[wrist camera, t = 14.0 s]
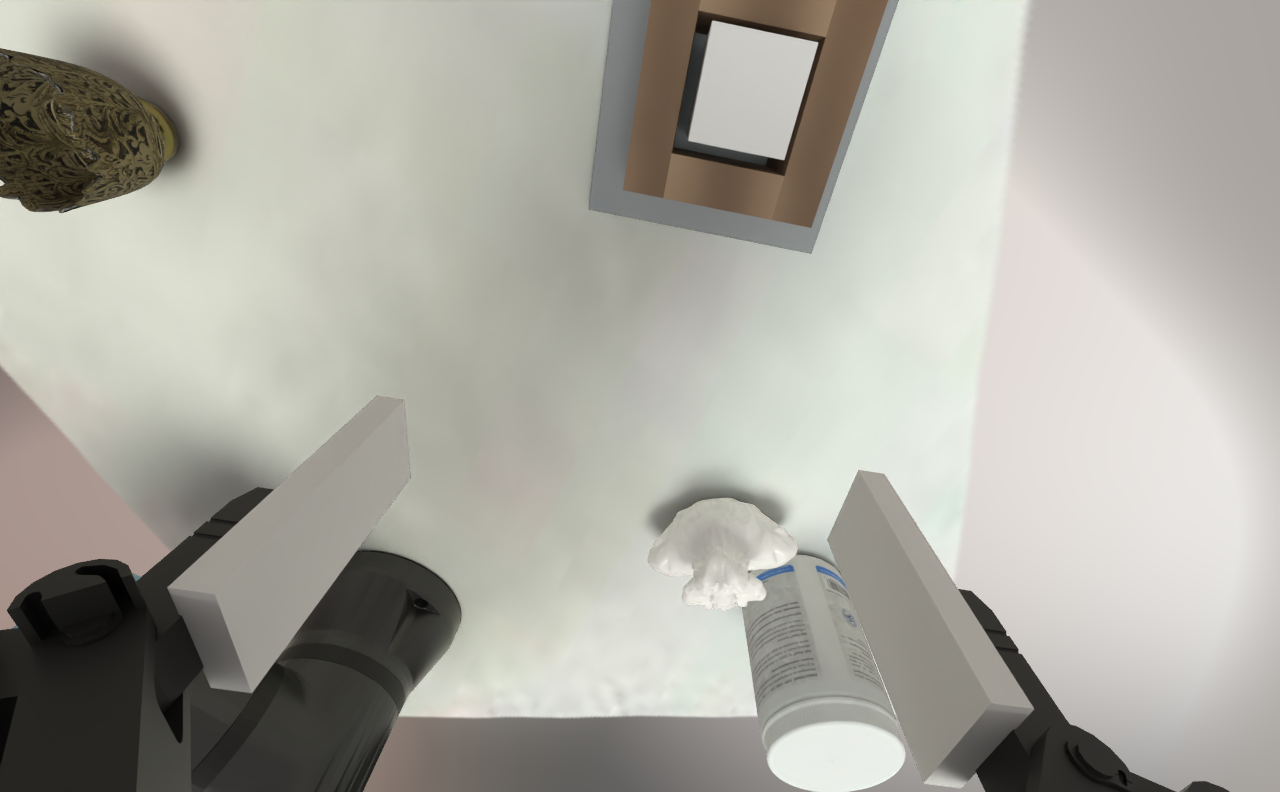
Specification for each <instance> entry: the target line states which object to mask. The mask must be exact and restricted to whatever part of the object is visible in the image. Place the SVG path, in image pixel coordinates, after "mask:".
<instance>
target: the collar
mask: <svg viewBox="0 0 1280 792" xmlns="http://www.w3.org/2000/svg"><path fill="white" fill-rule="evenodd" d="M887 3H888V0H651V5H650V12H649V18H648V25H647V32H646V38H645V45H644V52H643V58H642V65H641V72H640V79H639V85H638V92H637V99H636V105H635V112H634V119H633V126H632V132H631V139H630V146H629V152H628V159H627V166H626V172H625V179H624V186H623V190H625V191H630V192H635V193H639V194H644V195H649V196H654V197H659V198H664V199H669V200H674V201H679V202H684V203H689V204H694V205H699V206H704V207H709V208H714V209H719V210H724V211H729V212H734V213H739V214H744V215H749V216H754V217H759V218H764V219H769V220H774V221H779V222H784V223H789V224H794V225H799V226H804V227H809V228H812V225H813V222H814V219H815V216H816V213H817V210H818V207H819V204H820V201H821V198H822V195H823V192H824V189H825V186H826V183H827V180H828V177H829V174H830V171H831V168H832V165H833V162H834V160H835V157H836V154H837V151H838V148H839V145H840V142H841V139H842V136H843V133H844V130H845V127H846V124H847V121H848V118H849V115H850V112H851V109H852V106H853V103H854V100H855V97H856V94H857V91H858V88H859V86H860V83H861V80H862V77H863V74H864V71H865V68H866V65H867V62H868V59H869V56H870V53H871V50H872V47H873V44H874V41H875V38H876V35H877V32H878V29H879V26H880V23H881V20H882V17H883V15H884V12H885V9H886V6H887ZM712 21H717V22H722V23H727V24H732V25H737V26H741V27H746V28H751V29H756V30H761V31H765V32H770V33H775V34H780V35H785V36H789V37H794V38H799V39H804V40H809V41H813V42H818V46H817V50H816V53H815V56H814V60H813V63H812V67H811V70H810V74H809V77H808V81H807V84H806V87H805V91H804V94H803V98H802V101H801V105H800V108H799V111H798V115H797V118H796V122H795V125H794V129H793V132H792V135H791V139H790V142H789V146H788V149H787V153H786V156H785V159H784V160H780V159H775V158H770V157H768V159H767V163H766V166H764V165H759V164H754V163H750V162H745V161H740V160H735V159H730V158H725V157H720V156H715V155H710V154H705V153H700V152H695V151H691V150H686V149H681V148H676V147H674V142H675V137H676V131H677V126H678V121H679V116H680V110H681V105H682V100H683V94H684V89H685V84H686V79H687V73H688V68H689V63H690V57H691V52H692V47H693V42H694V36H695V33H700V34H705V35H708V33H709V30H710V27H711V24H712Z"/></svg>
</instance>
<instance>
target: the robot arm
mask: <svg viewBox="0 0 1280 792" xmlns="http://www.w3.org/2000/svg"><path fill="white" fill-rule="evenodd" d="M410 478H411V474H410V462H409V451H408V439H407V427H406V415H405V403H404V400H401V399H395V398H388V397H382V396H376V397H375V398H374V399H373V400H372V401H371V402H369V403H368V404H367V405H366V406H365V407H364V408H363V409H362V410H361V411H360V412H359V413H357V414H356V415H355V416H354V417H353V418H352V419H351V420H350V421H349V422H348V423H347V424H345V425H344V426H343V427H342V428H341V429H340V430H339V431H338V432H337V433H336V434H335V435H333V436H332V437H331V438H330V439H329V440H328V441H327V442H326V443H325V444H324V445H322V446H321V447H320V448H319V449H318V450H317V451H316V452H315V453H314V454H313V455H312V456H310V457H309V458H308V459H307V460H306V461H305V462H304V463H303V464H302V465H301V466H300V467H298V468H297V469H296V470H295V471H294V472H293V473H292V474H291V475H290V476H289V477H287V478H286V479H285V480H284V481H283V482H282V483H281V484H280V485H279V486H278V487H277V488H275V489H274V490H273V489H266V488H259V487H257V488H255V489H253V490H251V491H249V492H247V493H246V494H244V495H242V496H240V497H238V498H236V499H234V500H232V501H230V502H229V503H228V504H227V505H226V506H224V507H223V508H222V509H221V510H220V511H219V512H217V513H216V514H215V515H214V516H213V517H211V520H210V522H206V523H204V524H203V525H202V526H201V527H200V528H198V529H197V530H196V531H195V532H194V535H193V536H189V537H188V538H187V539H186V540H184V541H183V542H182V543H181V544H180V545H178V546H177V547H176V548H175V549H174V550H173V551H171V552H170V553H169V554H168V555H167V556H166V557H164V558H163V559H162V560H161V561H160V562H159V563H157V564H156V565H155V566H154V567H153V568H152V569H150V570H149V571H148V572H147V573H146V574H144V575H143V576H142V577H140V576H138V575H136V574H132V573H131V570H130V568H129V566H128V565H126V564H124V563H122V562H120V561H118V560H108V559H97V560H91V561H86V562H80V563H76V564H73V565H70V566H68V567H65V568H62V569H59V570H56V571H54V572H52V573H51V574H48V575H46V576H45V577H43V578H41V579H39V580H37V581H35V582H33V583H32V584H31V585H30V586H28V587H27V588H26V589H25V590H23V591H22V592H21V593H20V594H18V595H17V596H16V597H15V599H14V600H13V602H12V603H11V605H10V606H9V608H8V609H7V611H8V613H9V614H10V616H11V617H12V619H13V620H14V622H15V623H16V626H15V627H13V628H11V629H7V630H0V792H363V790H364V788H365V786H366V784H367V782H368V780H369V778H370V775H371V773H372V771H373V769H374V767H375V765H376V762H377V760H378V758H379V756H380V754H381V752H382V750H383V748H384V745H385V743H386V741H387V739H388V737H389V735H390V733H391V730H392V728H393V726H394V724H395V722H396V720H397V717H398V715H399V713H400V711H401V709H402V707H403V705H404V703H405V701H406V699H407V697H408V695H409V694H410V693H411V692H412V691H413V689H414V688H415V687H416V686H417V685H418V684H419V682H420V681H421V680H422V679H423V678H424V677H425V676H426V674H427V673H428V672H429V671H430V670H431V669H432V668H433V666H434V665H435V664H436V663H437V662H438V661H439V659H440V658H441V657H442V656H443V655H444V654H445V653H446V651H447V650H448V649H449V647H450V645H451V643H452V641H453V639H454V637H455V634H456V632H457V630H458V628H459V625H460V621H461V611H460V607H459V604H458V602H457V600H456V598H455V596H454V594H453V593H452V592H451V590H450V589H449V588H448V587H447V586H446V585H445V584H444V583H443V582H442V581H441V580H440V579H439V578H438V577H437V576H435V575H434V574H433V573H431V572H430V571H428V570H426V569H425V568H423V567H421V566H419V565H417V564H415V563H413V562H411V561H409V560H406V559H403V558H400V557H397V556H394V555H390V554H385V553H379V552H356V551H357V550H358V548H359V547H360V546H361V544H362V543H363V542H364V540H365V539H366V538H367V536H368V535H369V534H370V532H371V531H372V529H373V528H374V527H375V525H376V524H377V523H378V521H379V520H380V519H381V517H382V516H383V515H384V513H385V512H386V510H387V509H388V508H389V506H390V505H391V504H392V502H393V501H394V500H395V498H396V497H397V496H398V494H399V493H400V491H401V490H402V489H403V487H404V486H405V485H406V483H407V482H408V481H409V479H410ZM827 540H828V543H829V545H830V548H831V550H832V553H833V556H834V558H835V561H836V563H837V566H838V568H839V571H840V573H841V576H842V578H843V581H844V583H845V586H846V588H847V591H848V593H849V596H850V598H851V601H852V604H853V606H854V609H855V611H856V614H857V616H858V619H859V621H860V624H861V626H862V629H863V631H864V634H865V636H866V639H867V641H868V644H869V646H870V649H871V652H872V654H873V657H874V659H875V662H876V664H877V667H878V669H879V672H880V674H881V677H882V679H883V682H884V684H885V687H886V689H887V692H888V694H889V697H890V700H891V702H892V705H893V707H894V710H895V712H896V715H897V717H898V720H899V722H900V725H901V727H902V730H903V732H904V735H905V737H906V740H907V742H908V745H909V747H910V750H911V752H912V755H913V758H914V760H915V763H916V765H917V768H918V770H919V772H920V775H921V778H922V780H923V783H924V784H932V785H939V786H946V787H954V788H962V787H963V786H964V785H965V784H966V783H967V782H968V780H969V779H970V778H971V777H972V776H973V775H974V774H975V773H977V775H978V777H979V779H980V781H981V783H982V785H983V787H984V790H985V791H986V792H1175V791H1173V790H1170V789H1168V788H1166V787H1164V786H1161V785H1159V784H1157V783H1154V782H1152V781H1149V780H1147V779H1145V778H1143V777H1140V776H1138V775H1136V774H1134V773H1131V772H1130V771H1129V770H1128V768H1127V767H1126V765H1125V764H1124V763H1123V762H1122V760H1121V759H1120V758H1119V757H1118V756H1117V755H1116V754H1115V753H1114V752H1113V751H1112V750H1111V749H1110V748H1109V747H1108V746H1106V745H1105V744H1104V743H1103V742H1101V741H1100V740H1098V739H1097V738H1096V737H1095V736H1094V735H1092V734H1090V733H1088V732H1086V731H1084V730H1082V729H1081V728H1079V727H1077V726H1073V725H1070V724H1069V723H1068V721H1067V720H1066V719H1065V717H1064V716H1063V714H1062V713H1061V711H1060V710H1059V709H1058V707H1057V705H1056V704H1055V703H1054V701H1053V700H1052V698H1051V697H1050V695H1049V694H1048V692H1047V691H1046V689H1045V688H1044V686H1043V685H1042V684H1041V682H1040V681H1039V679H1038V677H1037V676H1036V675H1035V673H1034V672H1033V670H1032V669H1031V667H1030V666H1029V664H1028V663H1027V661H1026V660H1025V658H1024V657H1023V655H1022V654H1019V653H1018V648H1017V647H1016V645H1015V644H1014V642H1013V641H1012V639H1011V638H1010V637H1009V636H1007V635H1006V630H1005V629H1004V628H1003V626H1002V625H1001V623H1000V622H999V620H998V619H997V617H996V616H995V615H994V613H993V612H992V610H991V609H989V607H987V606H986V605H985V604H984V603H983V602H982V601H981V600H980V599H979V598H978V597H977V596H976V595H975V594H974V593H973V592H972V591H967V590H961V589H957V587H956V586H955V584H954V582H953V581H952V579H951V578H950V576H949V574H948V573H947V571H946V570H945V568H944V567H943V565H942V564H941V562H940V560H939V559H938V557H937V556H936V554H935V553H934V551H933V549H932V548H931V546H930V545H929V543H928V542H927V540H926V538H925V537H924V535H923V534H922V532H921V531H920V529H919V528H918V526H917V524H916V523H915V521H914V520H913V518H912V517H911V515H910V513H909V512H908V510H907V509H906V507H905V506H904V504H903V502H902V501H901V499H900V498H899V496H898V495H897V493H896V491H895V490H894V488H893V487H892V485H891V484H890V482H889V481H888V479H887V477H886V476H885V474H881V473H875V472H868V471H862V470H858V472H857V475H856V477H855V479H854V481H853V484H852V486H851V488H850V490H849V492H848V495H847V497H846V499H845V501H844V504H843V506H842V508H841V510H840V512H839V515H838V517H837V519H836V521H835V524H834V526H833V528H832V530H831V532H830V535H829V537H828V539H827ZM1180 792H1229V791H1228V790H1226V789H1224V788H1222V787H1219V786H1217V785H1214V784H1211V783H1209V782H1205V781H1201V782H1200V781H1199V782H1192V783H1191V784H1189V785H1188V786H1187V787H1185V788H1184V789H1183V790H1181V791H1180Z"/></svg>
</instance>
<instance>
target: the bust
mask: <svg viewBox="0 0 1280 792" xmlns="http://www.w3.org/2000/svg"><path fill="white" fill-rule="evenodd" d="M797 550H798V545H797V544H796V543H795V541H794V539H793V538H792V537H791V536H790V535H789V534H788V533H787V531H786V530H785V529H784V528H782V527H781V526H779V525H778V524H776V523H775V522H774V521H772V520H771V519H770V518H769V517H767V516H765V515H764V514H763V513H762V512H761V511H760V510H759V509H758V508H757V507H756V506H755V505H753V504H748V503H743V502H739V501H738V500H736V499H733V498H713V499H707V500H701V501H698V502H696V503H694V504H693V505H692V506H691V507H688V508H686V509H684V510H682V511H679V512H678V513H677V514H676V516H675V518H674V520H673V522H672V523H671V524H670V525H669V526H668V527H667V528H666V530H665V531H664V532H663V533H662V534H661V535H660V536H659V537H658V538H657V539H656V540H655V542H654V546H653V548H652V549H651V550H650V553H649V556H648V562H649V564H650V566H651V567H652V568H653V569H655V570H657V571H659V572H661V573H663V574H665V575H668V576H686V575H694V577H693V578H691V580H690V581H689V582H688V583H687V584H686V585H685V586H684V588H683V591H684V592H683V594H682V600H683V602H684V603H685V604H686V605H688V606H690V605H701V604H702V605H703V606H704V607H705V608H706V609H712V608H714V609H716V608H717V609H721V610H723V611H725V610H729V609H730V608H733V607H736V603H737V605H738V606H740V607H746V606H747V603H748V601H761V600H763V599H764V598H765V597H766V590H765V588H764V587H763V583H762V581H761V580H759V579H757V578H756V577H754V576H753V575H752V574H751V573H748V571H749V570H759V569H772V568H777V567H780V566H782V565H784V564H785V563H787V562H788V561H789V560H790V559H792V558H793V557H794V556H795V555H796V553H797Z"/></svg>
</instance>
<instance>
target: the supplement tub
mask: <svg viewBox="0 0 1280 792" xmlns="http://www.w3.org/2000/svg"><path fill="white" fill-rule="evenodd" d="M750 573H751V574H752V575H753V576H754V577H756V578H757V579H759V580H761V581H762V583H763V587H764V588H765V590H766V597H765V598H764V599H763V600H761V601H748V603H747V606H746V607H742V610H743V617H744V624H745V631H746V638H747V645H748V652H749V658H750V665H751V672H752V679H753V686H754V693H755V700H756V707H757V714H758V719H759V725H760V733H761V737H762V742H763V745H764V747H765V752H766V757H767V761H768V765H769V767H770V769H771V771H772V772H773V773H774V774H775V775H776V776H777V777H778V778H780V779H781V780H782V781H784V782H786V783H788V784H790V785H793V786H795V787H798V788H801V789H805V790H810V791H816V792H849V791H856V790H861V789H865V788H869V787H872V786H875V785H877V784H879V783H882V782H884V781H885V780H887V779H889V778H890V777H892V776H893V775H894V774H895V773H897V772H898V771H899V769H900V768H901V767H902V765H903V763H904V760H905V749H904V745H903V742H902V739H901V736H900V729H899V725H898V723H897V721H896V717H895V715H894V712H893V709H892V707H891V704H890V701H889V698H888V696H887V693H886V691H885V688H884V685H883V682H882V680H881V677H880V675H879V672H878V670H877V667H876V664H875V662H874V659H873V656H872V653H871V651H870V648H869V646H868V643H867V640H866V638H865V635H864V632H863V630H862V627H861V625H860V622H859V619H858V617H857V614H856V611H855V609H854V606H853V604H852V601H851V598H850V596H849V593H848V591H847V588H846V586H845V583H844V581H843V578H842V576H841V575H840V573H839V572H838V571H837V570H836V569H835V568H834V567H833V566H832V565H830V564H829V563H827V562H825V561H823V560H821V559H818V558H816V557H812V556H807V555H795V556H794V557H793V558H792V559H790V560H789V561H788V562H787V563H785V564H784V565H782V566H780V567H777V568H772V569H759V570H752V571H751V572H750Z"/></svg>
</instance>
